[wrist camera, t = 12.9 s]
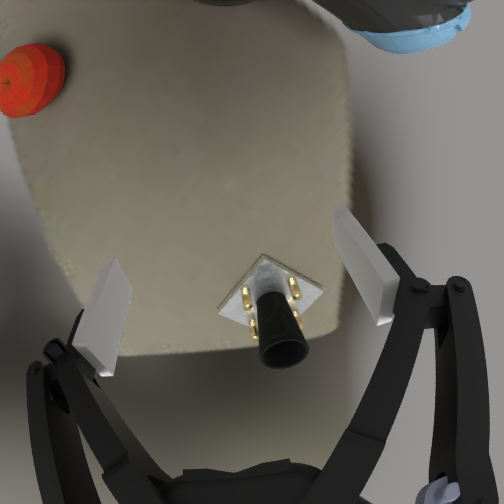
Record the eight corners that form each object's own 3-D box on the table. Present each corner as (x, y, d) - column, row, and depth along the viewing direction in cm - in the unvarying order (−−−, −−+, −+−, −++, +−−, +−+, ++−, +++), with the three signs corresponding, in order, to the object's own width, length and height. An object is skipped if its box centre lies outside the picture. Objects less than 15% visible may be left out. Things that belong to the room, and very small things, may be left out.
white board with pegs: (262, 254, 48) (268, 274, 44) (321, 286, 54) (330, 306, 50) (217, 308, 54) (218, 329, 49) (275, 331, 60) (280, 352, 55)
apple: (15, 68, 25) (-32, 75, 15) (66, 32, 25) (22, 24, 15) (33, 122, 31) (-13, 141, 21) (84, 89, 30) (42, 96, 21)
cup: (299, 305, 54) (316, 355, 44) (264, 323, 56) (275, 374, 46) (279, 279, 50) (296, 332, 40) (242, 300, 52) (250, 354, 42)
